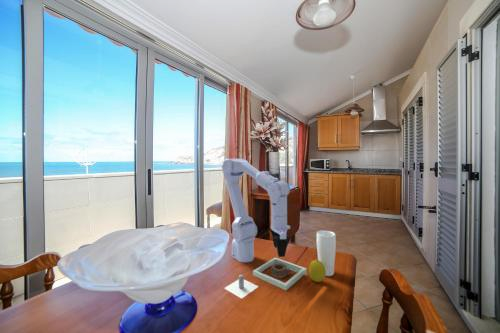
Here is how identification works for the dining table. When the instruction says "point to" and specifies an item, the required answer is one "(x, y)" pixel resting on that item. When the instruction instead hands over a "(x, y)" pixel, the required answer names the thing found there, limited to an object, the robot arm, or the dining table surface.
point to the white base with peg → (241, 287)
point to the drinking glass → (326, 250)
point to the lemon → (317, 271)
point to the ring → (279, 270)
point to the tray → (276, 282)
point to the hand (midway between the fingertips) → (279, 251)
